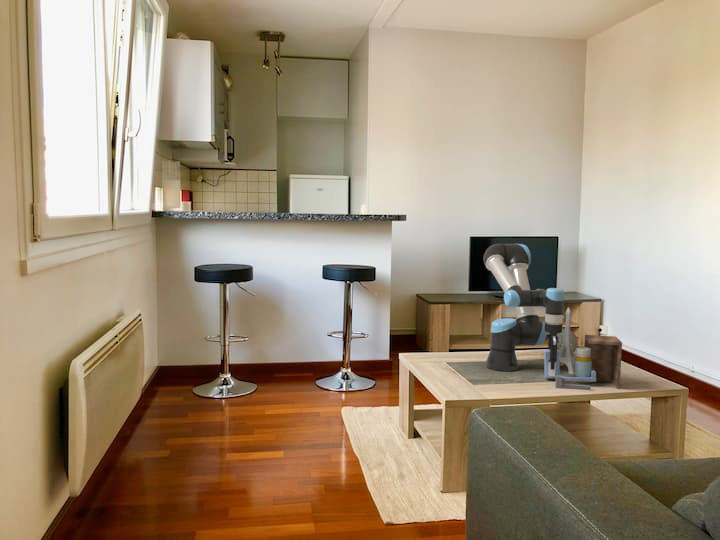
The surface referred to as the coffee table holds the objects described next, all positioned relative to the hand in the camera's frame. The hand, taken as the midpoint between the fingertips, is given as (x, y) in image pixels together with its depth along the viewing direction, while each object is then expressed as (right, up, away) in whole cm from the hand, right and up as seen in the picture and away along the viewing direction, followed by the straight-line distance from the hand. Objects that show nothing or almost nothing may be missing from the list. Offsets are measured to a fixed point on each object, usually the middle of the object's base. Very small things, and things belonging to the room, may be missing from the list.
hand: (551, 374), depth 263 cm
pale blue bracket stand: (+7, -1, -3) cm, 8 cm away
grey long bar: (+5, -4, -13) cm, 14 cm away
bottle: (+13, -3, -3) cm, 14 cm away
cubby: (+20, -3, -5) cm, 21 cm away
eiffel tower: (+13, -1, +20) cm, 24 cm away
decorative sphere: (+20, +1, +45) cm, 49 cm away
